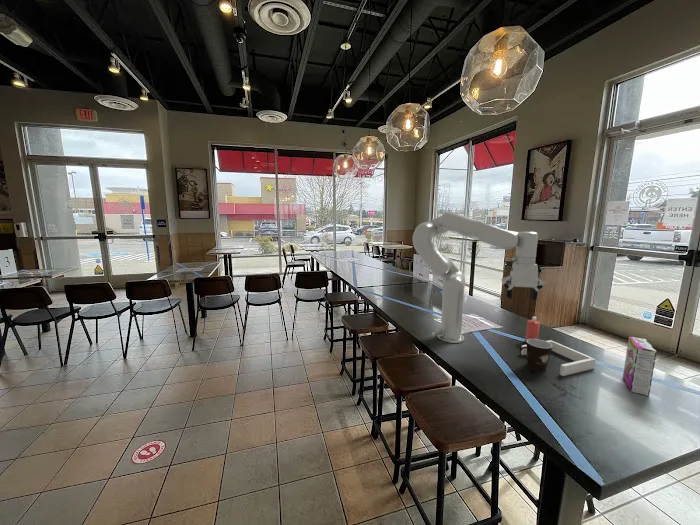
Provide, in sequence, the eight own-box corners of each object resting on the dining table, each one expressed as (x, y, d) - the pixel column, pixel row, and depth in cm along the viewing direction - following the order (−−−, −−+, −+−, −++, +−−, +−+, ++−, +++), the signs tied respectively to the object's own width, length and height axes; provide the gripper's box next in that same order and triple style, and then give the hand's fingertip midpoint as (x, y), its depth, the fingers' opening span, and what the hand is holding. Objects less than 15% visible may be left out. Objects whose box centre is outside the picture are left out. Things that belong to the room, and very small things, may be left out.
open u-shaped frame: (562, 376, 110) (564, 366, 109) (520, 354, 127) (521, 345, 126) (594, 368, 115) (595, 359, 114) (549, 348, 132) (550, 340, 132)
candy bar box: (621, 377, 109) (628, 335, 107) (639, 381, 107) (647, 338, 104) (629, 392, 100) (637, 347, 97) (649, 397, 97) (658, 351, 95)
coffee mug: (545, 363, 119) (548, 340, 117) (552, 374, 111) (555, 349, 109) (513, 358, 123) (516, 336, 121) (518, 368, 115) (520, 345, 113)
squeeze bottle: (532, 344, 136) (535, 319, 134) (523, 340, 141) (525, 315, 139) (540, 343, 138) (543, 318, 135) (530, 339, 142) (533, 314, 140)
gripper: (506, 261, 123) (502, 300, 126) (551, 262, 120) (546, 302, 123) (500, 258, 130) (497, 295, 133) (543, 259, 127) (538, 297, 130)
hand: (521, 298), depth 128 cm, fingers open, 9 cm apart
